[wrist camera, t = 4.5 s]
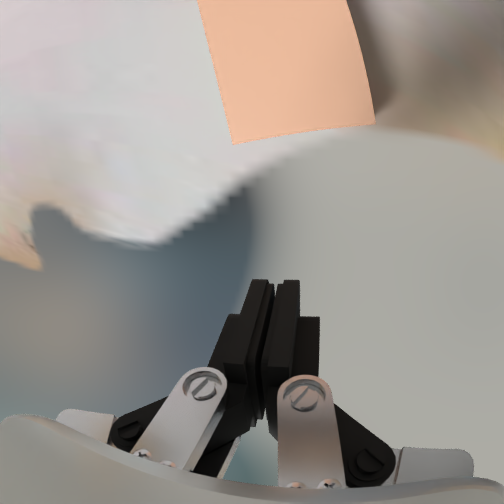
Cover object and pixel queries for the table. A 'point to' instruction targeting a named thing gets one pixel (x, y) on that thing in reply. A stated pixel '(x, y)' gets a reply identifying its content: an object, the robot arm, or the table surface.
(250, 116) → the peach flat block
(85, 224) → the table surface
